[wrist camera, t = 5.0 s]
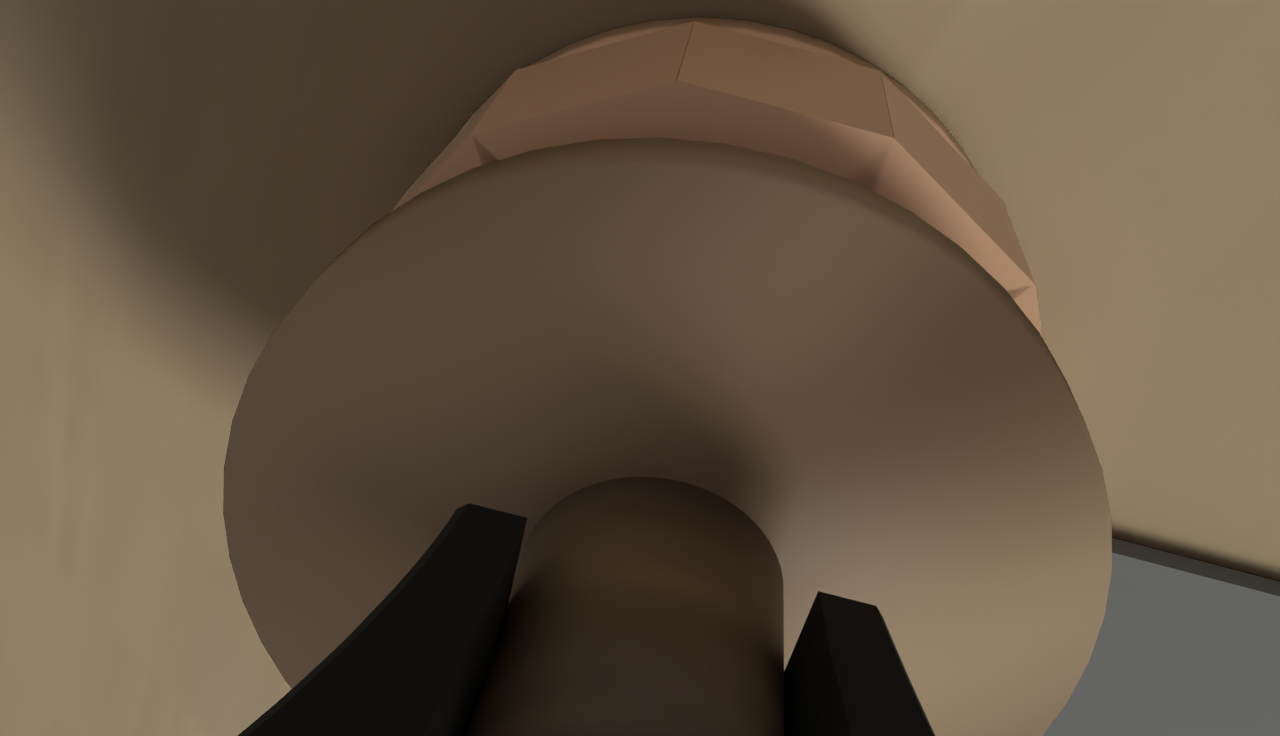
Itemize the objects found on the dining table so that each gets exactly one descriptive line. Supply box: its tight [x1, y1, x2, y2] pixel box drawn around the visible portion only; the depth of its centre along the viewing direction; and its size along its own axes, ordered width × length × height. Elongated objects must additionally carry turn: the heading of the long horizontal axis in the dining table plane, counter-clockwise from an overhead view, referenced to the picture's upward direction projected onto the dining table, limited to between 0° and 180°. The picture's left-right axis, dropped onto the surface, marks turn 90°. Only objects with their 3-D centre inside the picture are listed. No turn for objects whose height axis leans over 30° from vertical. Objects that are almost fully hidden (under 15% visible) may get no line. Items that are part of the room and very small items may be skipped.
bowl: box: [390, 17, 1043, 338], centre depth 16 cm, size 9×9×3 cm
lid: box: [223, 137, 1112, 736], centre depth 12 cm, size 10×10×4 cm
